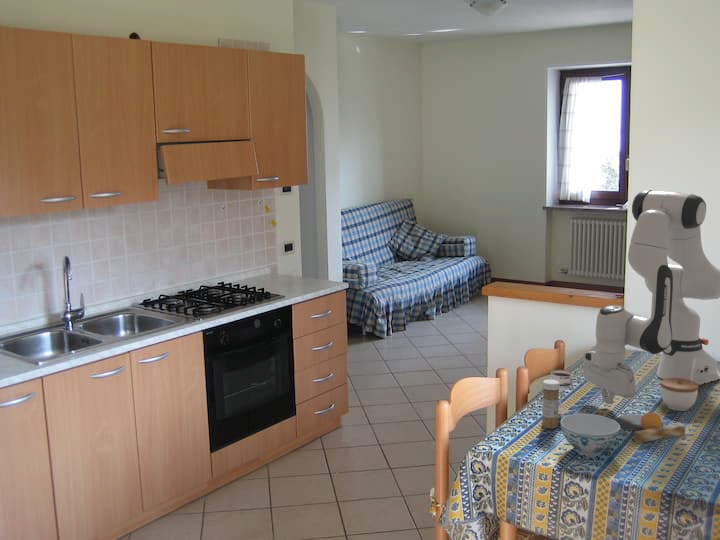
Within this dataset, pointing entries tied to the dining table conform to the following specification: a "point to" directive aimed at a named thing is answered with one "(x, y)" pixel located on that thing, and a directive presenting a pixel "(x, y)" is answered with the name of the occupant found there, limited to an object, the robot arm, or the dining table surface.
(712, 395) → the dining table surface
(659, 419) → the ball
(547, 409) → the sprinkles bottle
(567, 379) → the wineglass
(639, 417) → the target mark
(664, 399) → the lidded jar
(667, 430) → the stopper strip
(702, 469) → the dining table surface
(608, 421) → the chinaware
